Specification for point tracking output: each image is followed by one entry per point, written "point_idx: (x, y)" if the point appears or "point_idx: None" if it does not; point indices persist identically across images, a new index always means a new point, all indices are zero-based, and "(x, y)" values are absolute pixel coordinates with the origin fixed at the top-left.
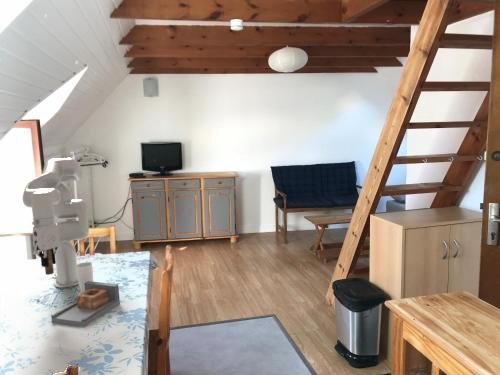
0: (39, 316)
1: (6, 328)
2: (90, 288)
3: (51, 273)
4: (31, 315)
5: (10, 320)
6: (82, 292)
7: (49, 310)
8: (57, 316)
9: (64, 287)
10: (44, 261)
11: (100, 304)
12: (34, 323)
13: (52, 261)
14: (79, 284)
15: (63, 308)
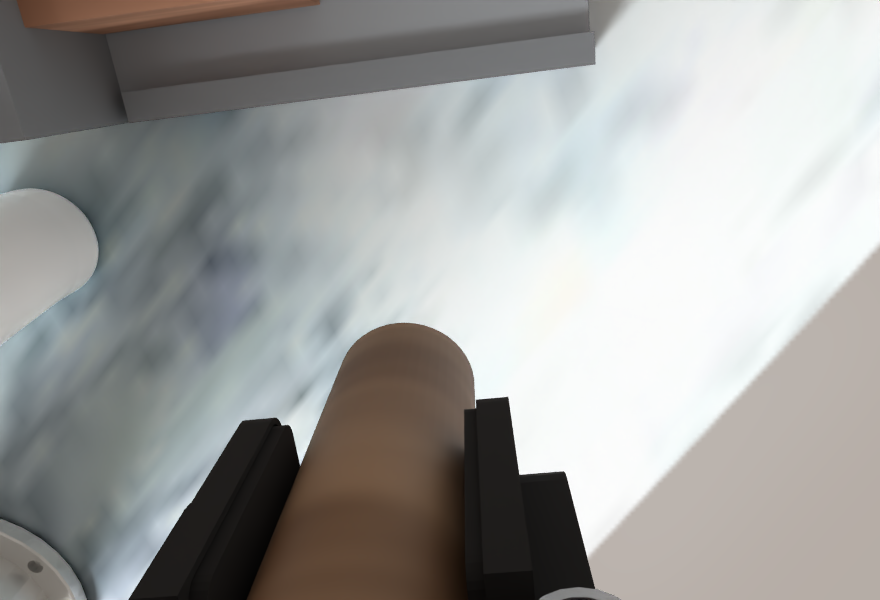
0: (529, 280)
1: (775, 337)
2: (42, 16)
3: (419, 328)
4: (537, 358)
5: (657, 429)
6: (180, 5)
7: (412, 301)
8: (552, 26)
9: (58, 553)
10: (572, 530)
11: None
12: (644, 202)
13: (303, 477)
14: (28, 304)
15: (431, 84)
